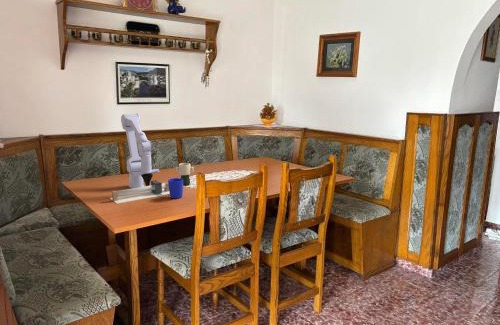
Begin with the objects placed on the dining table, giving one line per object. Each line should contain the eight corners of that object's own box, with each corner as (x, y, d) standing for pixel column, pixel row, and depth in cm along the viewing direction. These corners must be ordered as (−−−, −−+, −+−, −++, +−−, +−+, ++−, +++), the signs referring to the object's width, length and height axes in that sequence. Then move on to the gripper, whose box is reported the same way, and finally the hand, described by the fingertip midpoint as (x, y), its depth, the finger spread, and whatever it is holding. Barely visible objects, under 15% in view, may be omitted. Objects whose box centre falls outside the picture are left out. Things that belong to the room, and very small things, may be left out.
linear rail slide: (109, 198, 218) (108, 189, 217) (164, 189, 237) (163, 180, 236) (116, 203, 209) (116, 194, 208) (173, 193, 227) (172, 184, 226)
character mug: (195, 183, 250) (194, 162, 248) (193, 186, 243) (192, 165, 241) (177, 183, 251) (177, 162, 248) (175, 186, 244) (174, 165, 241)
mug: (183, 193, 229) (182, 176, 227) (184, 199, 217) (183, 181, 215) (168, 193, 227) (167, 176, 225) (168, 200, 215) (168, 182, 213)
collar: (151, 190, 230) (150, 181, 229) (156, 190, 232) (155, 180, 230) (157, 194, 224) (156, 183, 222) (162, 193, 225) (161, 183, 224)
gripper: (136, 165, 217) (137, 190, 220) (161, 162, 226) (162, 185, 228) (131, 163, 223) (133, 187, 226) (156, 160, 231) (157, 183, 234)
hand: (147, 186), depth 227 cm, fingers closed
